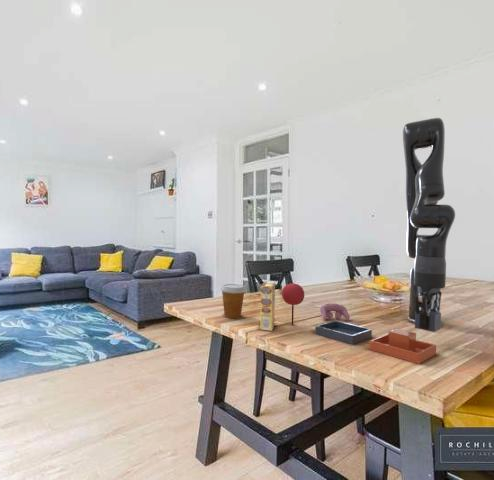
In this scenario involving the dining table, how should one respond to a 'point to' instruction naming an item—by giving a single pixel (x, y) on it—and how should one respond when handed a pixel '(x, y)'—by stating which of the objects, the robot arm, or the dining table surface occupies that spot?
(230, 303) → the disposable coffee cup
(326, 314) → the toy elephant
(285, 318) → the dining table surface
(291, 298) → the lollipop
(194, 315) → the dining table surface
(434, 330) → the slate block
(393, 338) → the terracotta block
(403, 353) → the terracotta tray
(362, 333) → the slate tray
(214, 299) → the dining table surface
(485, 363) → the dining table surface
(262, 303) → the candy box
